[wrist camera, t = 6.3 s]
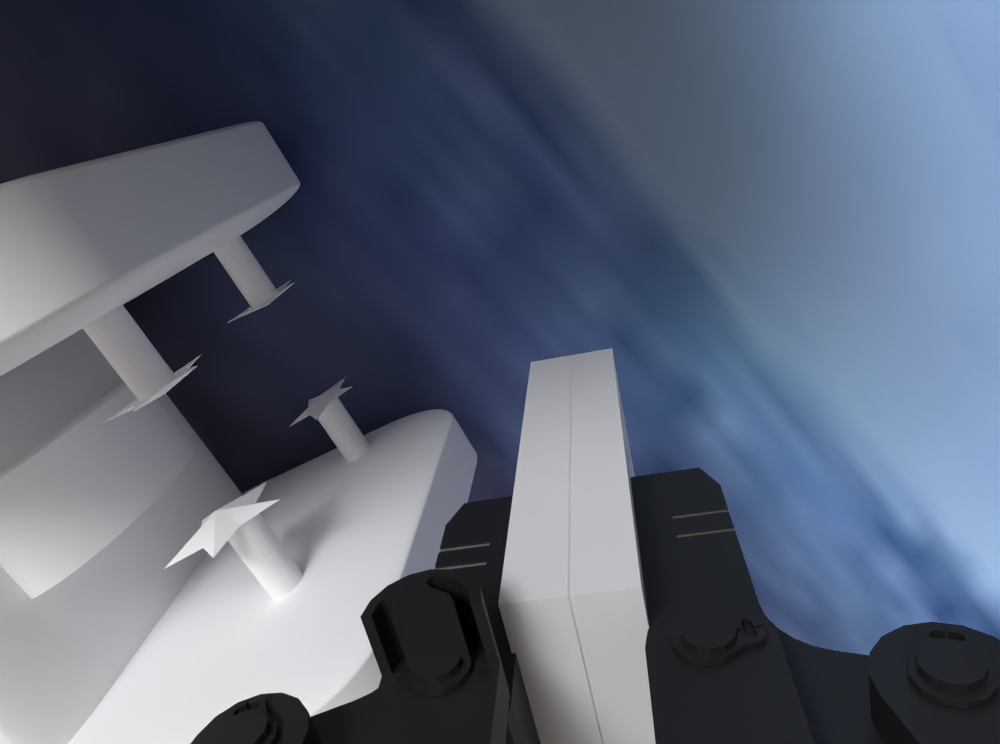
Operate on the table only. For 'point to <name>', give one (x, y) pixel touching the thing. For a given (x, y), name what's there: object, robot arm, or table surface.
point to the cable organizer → (177, 472)
